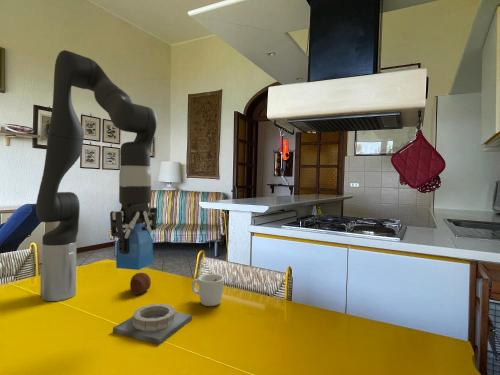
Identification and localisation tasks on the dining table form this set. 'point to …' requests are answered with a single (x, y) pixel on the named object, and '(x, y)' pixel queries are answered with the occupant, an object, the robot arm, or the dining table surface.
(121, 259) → the perfume bottle
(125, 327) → the ring block
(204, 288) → the cup
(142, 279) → the potato
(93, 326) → the dining table surface
